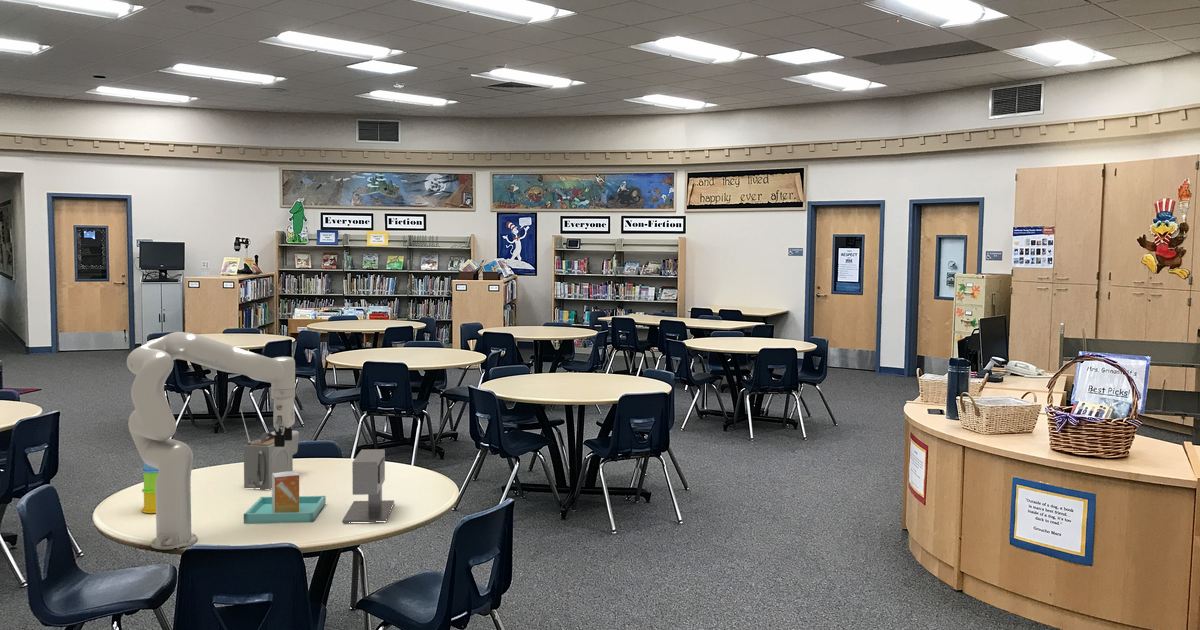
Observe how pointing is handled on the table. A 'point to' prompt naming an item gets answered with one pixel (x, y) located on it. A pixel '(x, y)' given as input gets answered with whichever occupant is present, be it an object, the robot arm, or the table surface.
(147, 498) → the stacking cups
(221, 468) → the table surface
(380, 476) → the mounted unit
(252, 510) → the teal tray
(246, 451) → the grey portable radio
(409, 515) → the table surface
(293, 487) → the small box
